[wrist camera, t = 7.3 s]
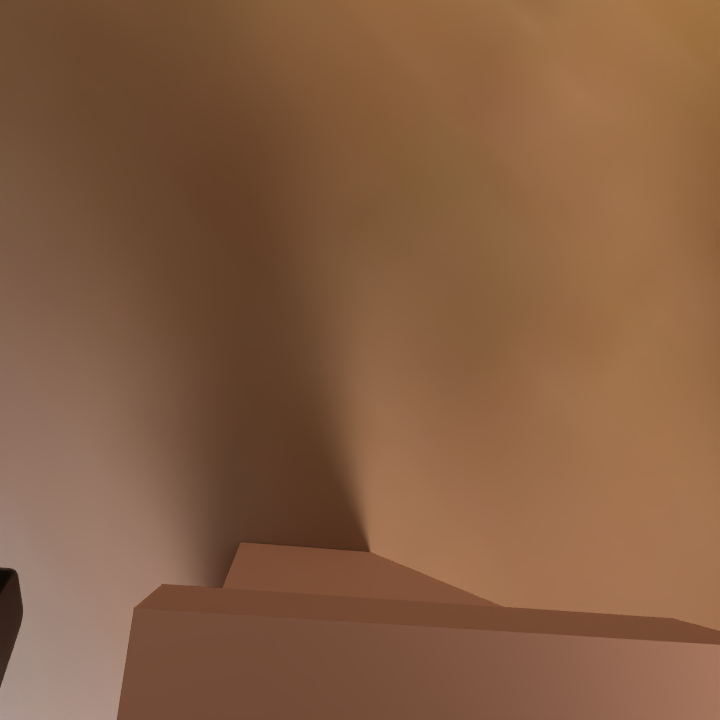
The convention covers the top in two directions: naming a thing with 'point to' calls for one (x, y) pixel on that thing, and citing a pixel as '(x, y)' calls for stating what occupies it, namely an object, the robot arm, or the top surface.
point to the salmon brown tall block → (398, 650)
